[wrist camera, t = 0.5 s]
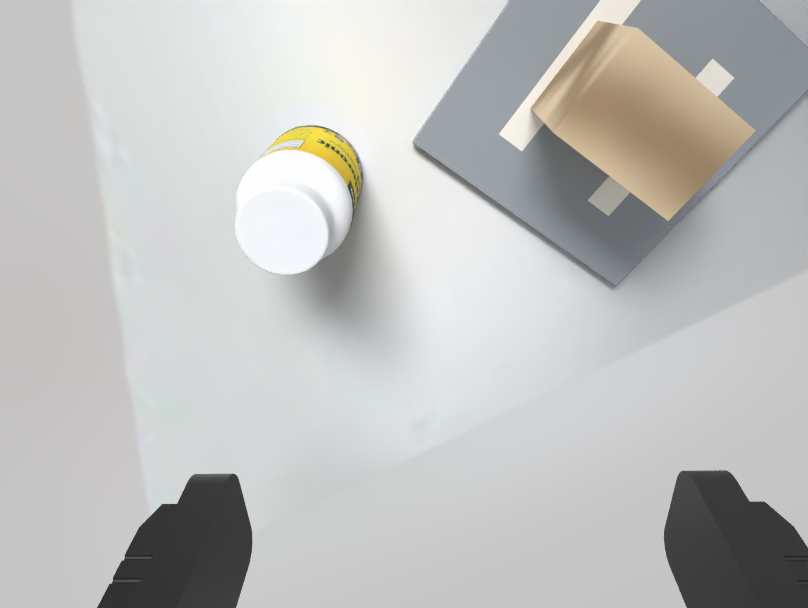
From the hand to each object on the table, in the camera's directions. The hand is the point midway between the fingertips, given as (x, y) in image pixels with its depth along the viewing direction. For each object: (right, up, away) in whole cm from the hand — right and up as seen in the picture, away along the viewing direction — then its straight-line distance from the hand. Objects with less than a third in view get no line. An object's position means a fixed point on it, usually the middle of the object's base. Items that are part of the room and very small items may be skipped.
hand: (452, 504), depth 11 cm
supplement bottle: (-6, +11, +22) cm, 26 cm away
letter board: (+10, +14, +20) cm, 27 cm away
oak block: (+10, +14, +20) cm, 26 cm away
